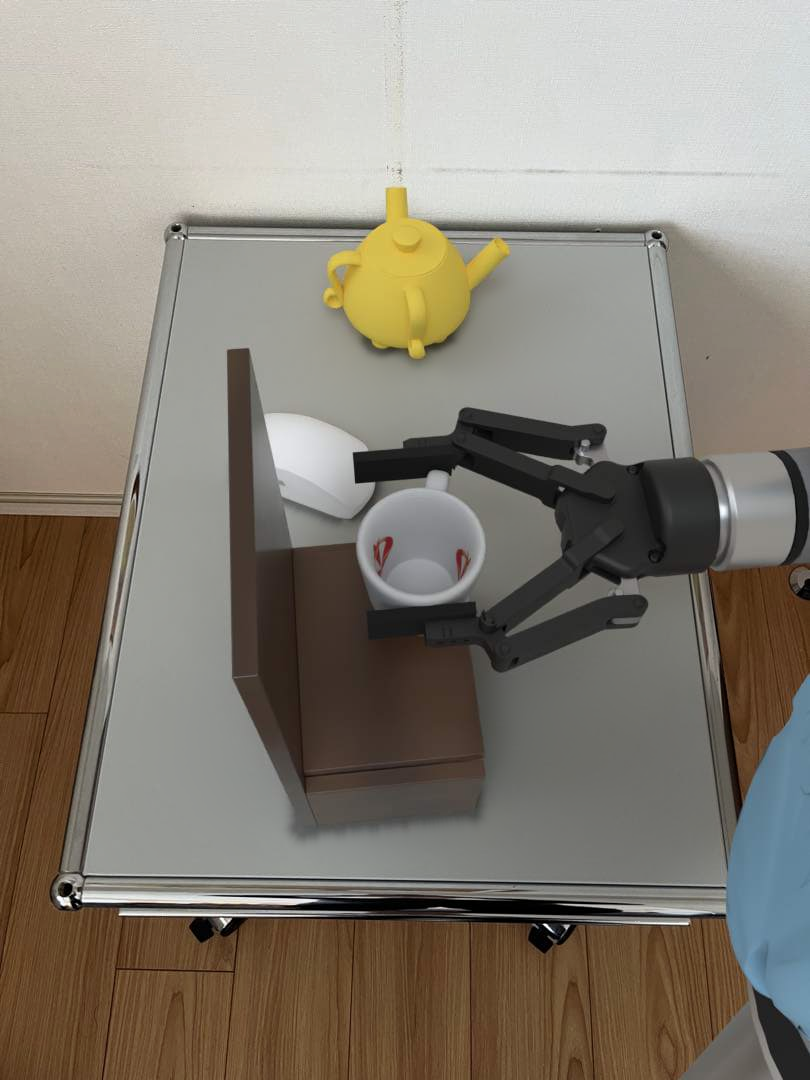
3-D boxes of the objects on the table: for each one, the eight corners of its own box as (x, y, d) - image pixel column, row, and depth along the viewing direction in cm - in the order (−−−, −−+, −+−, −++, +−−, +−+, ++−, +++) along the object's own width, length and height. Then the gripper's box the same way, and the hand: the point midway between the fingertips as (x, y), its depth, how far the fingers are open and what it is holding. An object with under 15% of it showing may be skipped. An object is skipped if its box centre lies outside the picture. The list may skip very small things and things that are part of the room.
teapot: (506, 305, 95) (518, 221, 85) (426, 391, 90) (429, 312, 80) (394, 242, 99) (393, 155, 89) (311, 321, 94) (301, 237, 84)
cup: (383, 501, 67) (381, 439, 60) (492, 521, 67) (503, 460, 60) (348, 638, 62) (341, 587, 55) (465, 661, 62) (474, 613, 55)
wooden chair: (445, 593, 80) (473, 330, 50) (474, 810, 72) (529, 651, 42) (291, 606, 80) (226, 348, 50) (302, 828, 71) (231, 678, 41)
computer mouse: (260, 426, 88) (251, 385, 83) (387, 471, 86) (386, 433, 80) (228, 479, 85) (216, 441, 80) (358, 528, 83) (356, 492, 78)
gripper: (731, 704, 58) (377, 738, 57) (649, 403, 69) (349, 427, 68) (774, 662, 52) (374, 700, 50) (676, 336, 62) (344, 361, 61)
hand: (360, 543), depth 59 cm, fingers closed on cup, 10 cm apart
